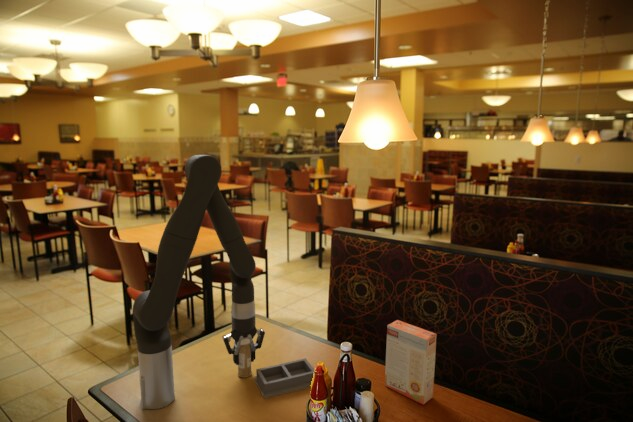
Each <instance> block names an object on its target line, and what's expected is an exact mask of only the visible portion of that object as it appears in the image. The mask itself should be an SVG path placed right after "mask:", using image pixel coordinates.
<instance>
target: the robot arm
mask: <svg viewBox="0 0 633 422" xmlns="http://www.w3.org/2000/svg"><path fill="white" fill-rule="evenodd" d="M222 172H223V171H222V166H221V163H220V161H219V160H218V159H217V158H216V157H215V156H213V155H209V154H195V155H192V156H191V157H189V158H188V159H187V161H186V162H185V166H184V174H185V177H186V178H187V182H186V186H185V189H184V193H183V195H182V197H181V200H180V202H179V203H178V206H176V208H175V210H174V211H173V212H172V214H171V216H170V217H169V220H168V221H167V223H166V225H165V228H164V230H163V232H162V236H161V238H160V241H159V244H158V248H157V255H156V265H155V274H154V279H153V282H152V285H151V287H150V289H149V290H145V291H143V292H141V293H140V294H139V295H138V296H137V297H136V298H135V300H134V302H133V305H132V318H133V319H132V321H133V329H134V337H135V341H136V345H137V346H136V347H137V348H136V349H137V357H138V358H137V359H138V372H139V387H140V397H141V398H140V400H141V410H158V409H162V408H165V407H167V406H168V405H170V404H171V403H172V402H173V401H174V399H175V395H176V394H175V392H176V391H175V378H174V362H173V361H174V360H173V346H172V344H173V343H172V335H171V332H170V328H169V325H168V324H169V322H170V321H171V318H172V315H173V313H174V309H175V305H176V301H177V298H178V297H177V296H178V293H179V288H180V285H181V282H182V281H183V280H182V279H183V277H184V276H185V275H184V274H185V272H186V269H187V266H188V264H189V261H190V258H191V256H192V253H193V250H194V249H195V248H194V247H195V245H196V243H197V239H198V237H199V233H200V230H201V227H202V224H203V220H204V218H205V214H206V212H207V215H208V217H209V219H210V221H211V224H212V225H213V229H214V231H215V234H216V235H217V238H218V241H219V243H220V244H221V247H222V248H223V250H224V251H225V253H226V254H227V257H228V260H229V262H228V267H229V268H228V269H229V275H230V276H229V277H230V281H231V306H230V307H231V310H230V314H231V331H230V332H229V334H223V335H222V340H223V343H224V345H225V348H226V351H227V353H228V355H232V360H233V364H235V365H236V366H238V365H239V356H238V351H239V349H240V346H241V341H242V340H243V338H246V337H248V339H250V346H251V363H253V362H255V360H256V351H257V350H260V349H262V346H263V342H264V338H265V334H266V332H265V331H264V329H263V328H259V329H258V328H256V303H255V286H254V283H253V281H252V276H253V274H254V273H255V272H256V261H255V259H254V256H253V254H252V252H251V250H250V249H249V247H248V244H246V240H245V239H244V236H243V235H244V234H243V232H242V230H241V228H240V226H239V223H238V221H237V219H236V217H235V215H234V213H233V212H232V210H231V209H230V206H229V205H228V204H227V201H226V200H225V198H224V195H223V194H222V192H221V190H220V187H219V182H220V180H221V178H222V177H221V176H222V174H223V173H222ZM256 335H257V336H256ZM254 337H257V338H256V341H255V342H254ZM231 339H232V340H234V341H233V347H231V344H230V342H231ZM239 342H240V343H239Z"/></svg>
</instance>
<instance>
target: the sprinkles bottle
mask: <svg viewBox="0 0 633 422" xmlns="http://www.w3.org/2000/svg"><path fill="white" fill-rule="evenodd" d="M239 343H240V342H239ZM238 356H239V365H237V370H238V371H237V375H238V376H239V377H240V378H247V377H250V376H251V375H252V373H253V372H252V362H251V346H250V339H248V337H246V338H243V340H242V341H241V346H240V349H239V351H238Z"/></svg>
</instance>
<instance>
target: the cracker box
mask: <svg viewBox="0 0 633 422" xmlns="http://www.w3.org/2000/svg"><path fill="white" fill-rule="evenodd" d="M386 327H387V329H386V347H385V348H386V349H385V372H384V373H385V374H384V386H385V387H387V388H389V389H390V390H393V391H394V392H396V393H398V394H400V395H403V396H405V397H407V398H408V399H410V400H411V401H412V400H413V401H415V402H417V403H418V404H421V405H423V406H424V405H425V404H426V403H428V402H429V401H430V400H431V399H433V397H434V387H435V385H434V384H435V366H436V352H437V351H436V349H437V336H438V335H437V333H435V332H433V331H429V330H427V329H424V328H421V327H418V326H416V325H413V324H409V323H407V322H405V321H402V320H400V319H396V320H394V321H393V322H391V323H389V324H387V325H386Z"/></svg>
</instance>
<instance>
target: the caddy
mask: <svg viewBox="0 0 633 422" xmlns="http://www.w3.org/2000/svg"><path fill="white" fill-rule="evenodd" d="M314 370H315V369H314V367H313V366H312V365H311V363H310V362H309V361H308V359H307V358H301V359H296V360H291V361H288V362H287V361H286V362H283V363H278V364H275V365H270V366H265V367H261V368H256V372H255V373H256V374H255V376H253V379H254V382H255V384H256V386H257V387H258V390H259V391H260V394H261V395H262V397H263V399H264V400H265V399H268V398H269V399H270V398H274V397H279V396H282V395H284V394H288V393H293V392H297V391H301V390H304V389H309V388H311V387H310V385H311V381H312V378H313V372H314Z"/></svg>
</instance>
